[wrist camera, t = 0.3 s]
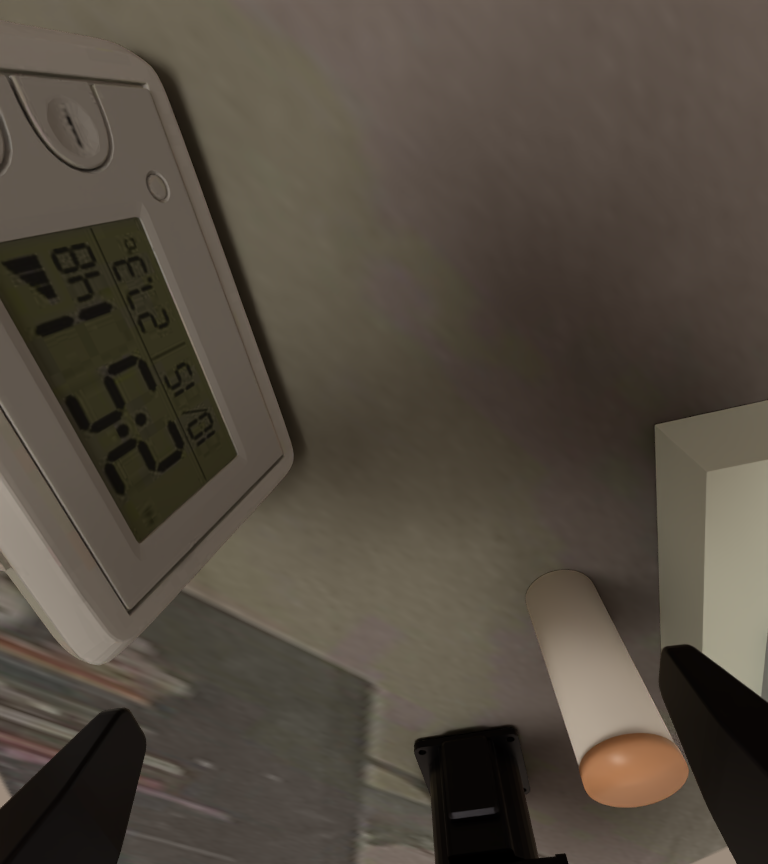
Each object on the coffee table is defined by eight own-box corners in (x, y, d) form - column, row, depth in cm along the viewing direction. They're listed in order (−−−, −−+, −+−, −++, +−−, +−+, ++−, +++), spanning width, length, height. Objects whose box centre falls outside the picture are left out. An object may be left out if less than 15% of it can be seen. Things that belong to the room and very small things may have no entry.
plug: (598, 615, 27) (688, 800, 19) (529, 627, 27) (587, 813, 19) (593, 562, 25) (688, 740, 17) (519, 576, 26) (579, 756, 18)
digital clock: (302, 477, 23) (241, 680, 14) (111, 481, 24) (-80, 684, 14) (250, 46, 16) (48, -155, 7) (-24, 57, 16) (-601, -120, 7)
